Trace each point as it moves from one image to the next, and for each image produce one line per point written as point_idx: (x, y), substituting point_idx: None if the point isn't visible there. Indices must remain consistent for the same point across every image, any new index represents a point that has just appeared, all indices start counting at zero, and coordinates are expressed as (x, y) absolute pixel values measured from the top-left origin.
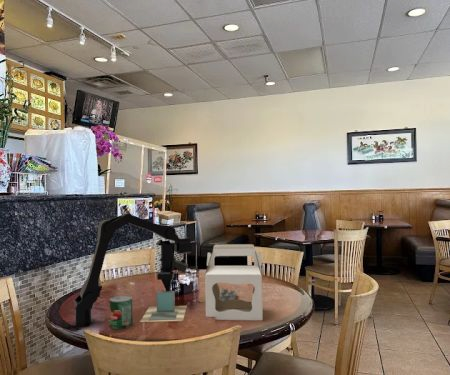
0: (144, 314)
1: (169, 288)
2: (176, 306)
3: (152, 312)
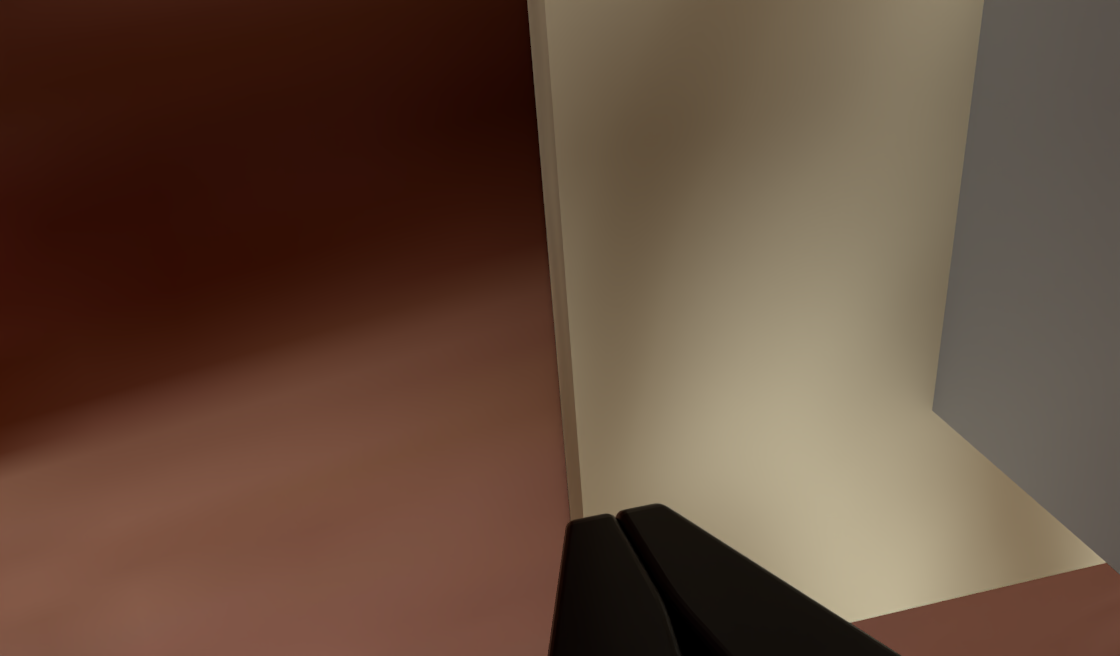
0: (1076, 568)
1: (787, 600)
2: (603, 11)
3: (1000, 476)
